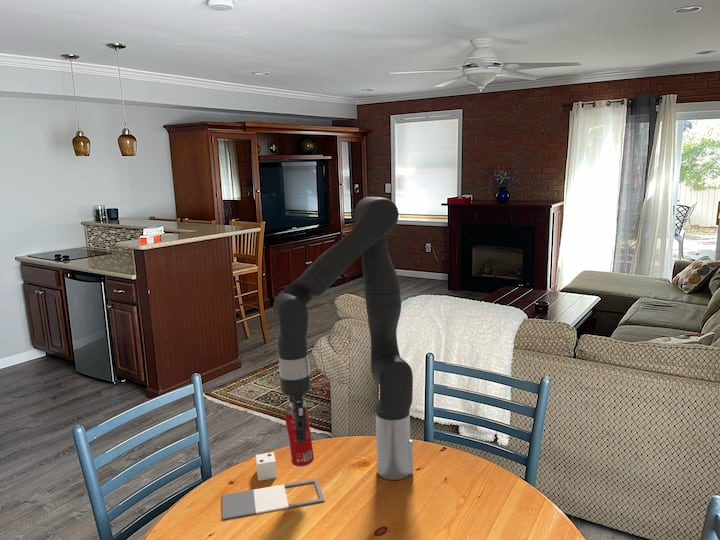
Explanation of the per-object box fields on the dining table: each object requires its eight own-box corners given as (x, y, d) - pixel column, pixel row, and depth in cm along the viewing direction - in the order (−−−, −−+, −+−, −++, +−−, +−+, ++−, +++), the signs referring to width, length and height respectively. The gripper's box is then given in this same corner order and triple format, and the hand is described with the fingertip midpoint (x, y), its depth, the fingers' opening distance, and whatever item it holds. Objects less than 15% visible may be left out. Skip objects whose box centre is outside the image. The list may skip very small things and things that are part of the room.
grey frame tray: (317, 480, 144) (317, 478, 144) (324, 501, 134) (324, 500, 134) (222, 496, 138) (222, 494, 137) (222, 520, 128) (222, 518, 128)
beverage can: (317, 457, 138) (313, 403, 135) (305, 471, 132) (300, 415, 129) (298, 454, 140) (293, 400, 138) (284, 466, 135) (279, 411, 132)
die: (274, 468, 150) (273, 451, 149) (276, 477, 145) (275, 460, 144) (256, 471, 149) (255, 454, 148) (258, 481, 144) (257, 463, 143)
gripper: (314, 381, 126) (319, 446, 129) (305, 361, 139) (309, 420, 143) (283, 385, 124) (288, 452, 127) (276, 364, 138) (281, 425, 141)
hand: (299, 435), depth 135 cm, fingers closed on beverage can, 5 cm apart
